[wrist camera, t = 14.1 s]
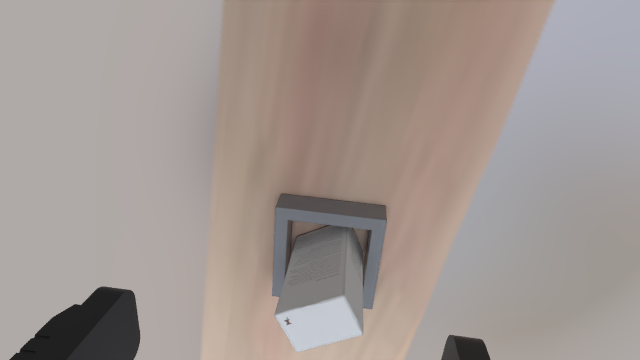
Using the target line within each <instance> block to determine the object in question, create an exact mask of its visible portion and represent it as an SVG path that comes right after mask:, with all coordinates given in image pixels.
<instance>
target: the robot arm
mask: <svg viewBox="0 0 640 360" xmlns="http://www.w3.org/2000/svg"><path fill="white" fill-rule="evenodd" d="M139 343H140V330H139V322H138V315H137V308H136V301H135V295H134V293H133V291H131V290H125V289H118V288H111V287H100V288H98V289H97V290H95V291H94V293H92V294H91V296H90V297H89V298H88V299H87V300H86V301H85V302H84V303H83V304H82V305H77V304H75V305H73V306H71V307H70V308H68V309H66V310H65V311H63V312H61V313H59V314H58V315H56V316H54V317H53V318H52V319H51V320H50V321H48V323H46V324H45V325H44V326H43V327H42V328H41V329H40V330H39V331H38V332H37V333H36V334H35V337H34V338H32V339H30V340H29V341H28V342H27V343H26V344H25V345H24V346H23V347H22V348H21V349H20V352H19V353H16V354H15V355H14V356H13V357H12V358H11V359H10V360H133V359H134V358H135V356H136V353H137V351H138V347H139ZM441 360H490V357H489V354H488V352H487V349H486V346H485V344H484V342H483V340H481V339H475V338H469V337H462V336H454V335H449V336H448V338H447V341H446V344H445V348H444V352H443V356H442V359H441Z"/></svg>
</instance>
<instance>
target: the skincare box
mask: <svg viewBox="0 0 640 360" xmlns="http://www.w3.org/2000/svg"><path fill="white" fill-rule="evenodd" d="M274 316H275V318H276V319H277V321H278V322H279V324H280V326H281V327H282V329H283V330H284V332H285V334H286V335H287V337H288V339H289V340H290V342H291V344H292V345H293V347H294V349H295V350H296V352H301V351H304V350H308V349H312V348H315V347H319V346H323V345H326V344H330V343H334V342H338V341H341V340H345V339H349V338H352V337H356V336H360V335H363V251H362V248H361V246H360V244H359V242H358V240H357V238H356V235H355V233H354V231H353V229H352V228H350V227H341V226H333V225H330V226H327V227H324V228H321V229H318V230H315V231H312V232H309V233H306V234H303V235H300V236H297V238H296V241H295V244H294V248H293V251H292V255H291V259H290V262H289V265H288V269H287V273H286V276H285V280H284V283H283V287H282V290H281V294H280V297H279V301H278V304H277V308H276V311H275V315H274Z"/></svg>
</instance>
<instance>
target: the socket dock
mask: <svg viewBox="0 0 640 360" xmlns="http://www.w3.org/2000/svg"><path fill="white" fill-rule="evenodd" d="M292 221H300V222H308V223H317V224H325V225H333V226H341V227H350V228H358V229H366V230H369V237H368V243H367V250H366V257H365V264H364V271H363V308H367V309H372V307H373V301H374V295H375V289H376V283H377V277H378V271H379V265H380V259H381V253H382V247H383V241H384V235H385V229H386V223H387V217H386V207H385V206H383V205H374V204H366V203H357V202H348V201H340V200H331V199H323V198H314V197H306V196H297V195H288V194H281V196H280V198H279V201H278V203H277V205H276V207H275V233H274V261H273V288H272V296H277V297H280V294H281V290H282V287H283V283H284V280H285V276H286V273H287V269H288V265H289V262H290V247H291V230H292Z"/></svg>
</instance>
